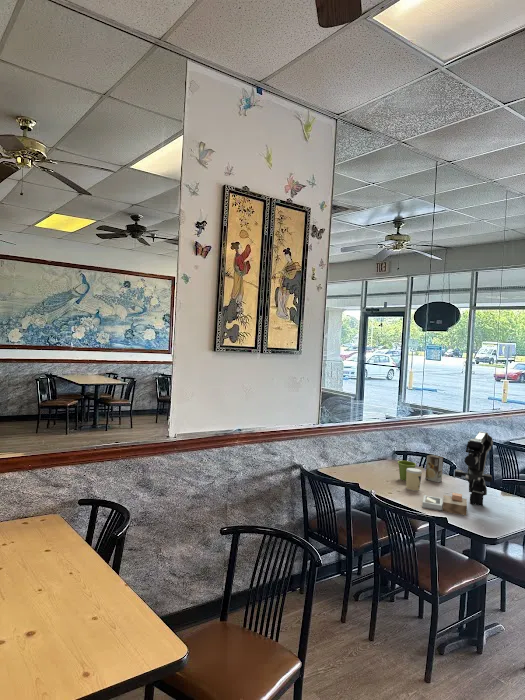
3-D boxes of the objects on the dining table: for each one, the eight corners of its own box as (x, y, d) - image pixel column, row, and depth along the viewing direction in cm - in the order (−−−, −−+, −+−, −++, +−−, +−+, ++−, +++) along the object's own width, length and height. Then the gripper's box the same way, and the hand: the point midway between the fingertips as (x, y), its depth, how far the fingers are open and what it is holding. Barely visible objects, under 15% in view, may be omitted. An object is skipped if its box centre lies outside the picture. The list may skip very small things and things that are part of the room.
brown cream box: (465, 507, 273) (466, 498, 273) (466, 515, 260) (467, 506, 260) (442, 503, 277) (443, 495, 277) (442, 511, 264) (443, 502, 264)
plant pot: (392, 478, 323) (394, 461, 323) (402, 476, 331) (404, 459, 331) (408, 483, 314) (409, 466, 314) (418, 480, 322) (419, 463, 322)
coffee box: (442, 481, 325) (444, 457, 325) (437, 482, 321) (439, 458, 321) (429, 477, 332) (431, 454, 332) (424, 479, 328) (426, 455, 327)
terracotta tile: (461, 498, 273) (462, 494, 273) (461, 501, 268) (462, 496, 268) (452, 496, 275) (452, 492, 275) (452, 499, 270) (452, 494, 270)
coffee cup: (421, 492, 297) (423, 472, 297) (405, 490, 299) (407, 470, 299) (419, 487, 306) (421, 468, 306) (404, 485, 308) (405, 466, 308)
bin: (442, 503, 278) (442, 498, 278) (441, 511, 265) (441, 505, 264) (423, 500, 281) (424, 495, 281) (422, 507, 268) (422, 502, 268)
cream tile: (427, 496, 274) (425, 500, 274) (426, 499, 269) (424, 503, 270) (436, 500, 272) (434, 504, 273) (435, 503, 268) (433, 507, 268)
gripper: (455, 463, 264) (453, 492, 265) (493, 469, 257) (491, 498, 258) (455, 459, 275) (453, 486, 275) (492, 464, 268) (490, 492, 268)
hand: (471, 491), depth 269 cm, fingers closed
